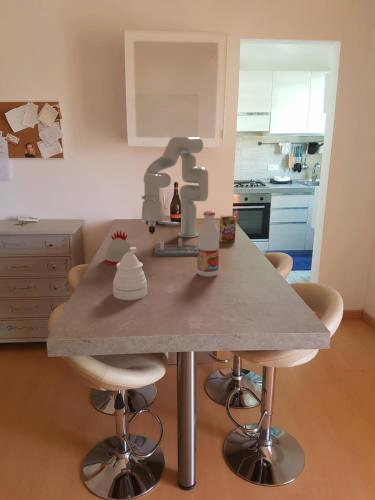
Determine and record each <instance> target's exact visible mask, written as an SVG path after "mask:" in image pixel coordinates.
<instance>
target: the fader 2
mask: <svg viewBox="0 0 375 500" xmlns="http://www.w3.org/2000/svg"><path fill="white" fill-rule="evenodd" d="M177 240H178V243H177V245H178V246H179V247H182V245H183V237H181V236H179V237H178V239H177Z"/></svg>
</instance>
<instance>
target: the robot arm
mask: <svg viewBox="0 0 375 500" xmlns="http://www.w3.org/2000/svg"><path fill="white" fill-rule="evenodd" d="M203 149H204V142H203V140H202V138H200V137H191V136H174V137H171V138H170V139H169V141H168V143H167V145H166V147H165V149H164V150H163V153H162V155H161V156H160V157H158V158H156V159H155V160H153V161H152V162H151V163H150V164H149V165H148V167H147V168H146V171H145V172H144V175H143V184H144V195H142V196H141V199H143V201H142V207H141V223H143V224H146V225H147V226H148V232H149V233H150V235H154V233H155V232H156V231H155V230H156V226H157V225H158V224H161V223H163V218H162V217H163V207H162V202H161V200H160V188H161V189H162V188H163V189H165V188H168V187H169V186H170V185H171V182H172V178H171V176H170V175H169V174H168V173H167V172H161V171H163V170H166V169H169V168H172V167H174V166H176V164H177V163H178V161H179V160H178V159H179V158H181V159H180V160H181V177H182V178H181V179H182V181H183V182H184V183H188V184H184V185H182V186H181V187H180V189H179V197H180V207H181V208H180V216H181V217H180V232H178V236H179V237H181V238H186V239H188V238H197V237H199V234H198V232H197V212H198V211H197V209H198V208H197V205H196V203H195V202H206V201H207V200H208V197H209V171H208V169H207V168H205V167H202V166H197V159H196V154H199V153H201V152H202V150H203ZM189 183H191V184H189ZM196 184H198V185H196ZM152 222H153V224H152Z"/></svg>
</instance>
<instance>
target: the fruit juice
mask: <svg viewBox="0 0 375 500" xmlns="http://www.w3.org/2000/svg"><path fill="white" fill-rule="evenodd" d="M215 216H216V212H215V211H212V210H211V211H210V210H207V211H204V212H203V217H204V219H203V222H202V224H201V225H200V227H199V228H198V232H197V233H198V234H199V235H198V238H199V239H198V242H197V245H198V256H197V263H196V264H197V267H196V270H197V271H196V272H197V275H199V276H201V277H206V278H210V277H211V278H212V277H215V276H218V274H219V259H220V241H219V235H220V228H219V227H218V226H217V224H216V220H215Z"/></svg>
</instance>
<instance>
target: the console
mask: <svg viewBox="0 0 375 500" xmlns="http://www.w3.org/2000/svg"><path fill="white" fill-rule="evenodd" d="M194 256H195V257H198V244H195V243H194V244H182V247H179V246H178V244H164V250H160V244H159V243H158V244H155V245H154V257H194Z"/></svg>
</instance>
